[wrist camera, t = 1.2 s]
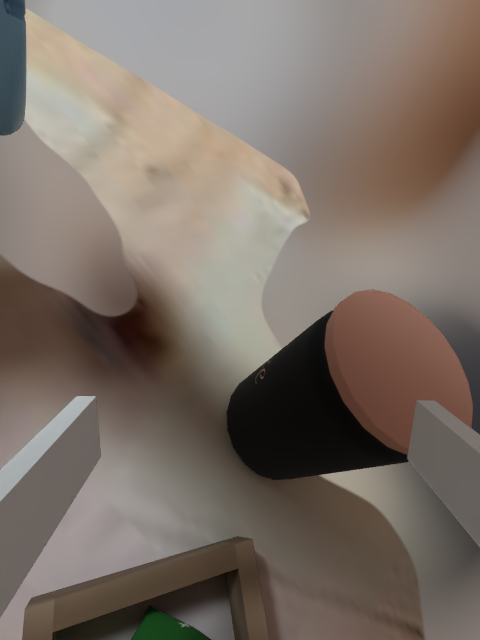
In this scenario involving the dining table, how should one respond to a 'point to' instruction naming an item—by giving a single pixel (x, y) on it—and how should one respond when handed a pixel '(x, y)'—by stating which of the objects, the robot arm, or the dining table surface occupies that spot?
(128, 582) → the walnut slot rack
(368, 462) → the coffee jar
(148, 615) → the fresh milk carton
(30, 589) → the dining table surface
